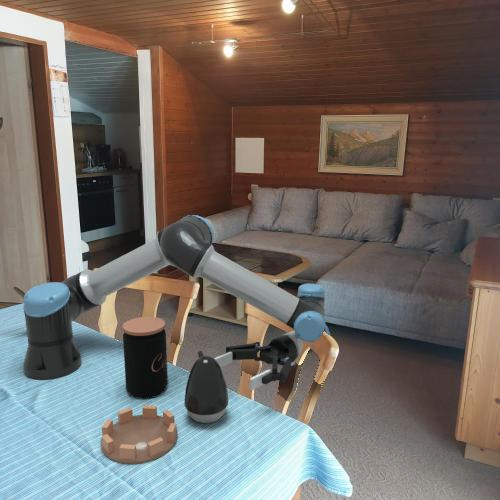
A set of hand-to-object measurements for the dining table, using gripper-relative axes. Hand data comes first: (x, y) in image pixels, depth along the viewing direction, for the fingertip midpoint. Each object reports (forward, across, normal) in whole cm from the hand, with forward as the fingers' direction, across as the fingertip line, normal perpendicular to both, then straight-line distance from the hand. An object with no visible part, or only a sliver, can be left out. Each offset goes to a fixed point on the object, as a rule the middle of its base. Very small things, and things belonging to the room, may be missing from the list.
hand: (230, 374), depth 109 cm
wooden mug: (+16, +78, -9) cm, 80 cm away
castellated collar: (+23, +4, -8) cm, 25 cm away
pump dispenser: (+7, 0, -8) cm, 11 cm away
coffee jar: (+10, +21, -8) cm, 25 cm away
